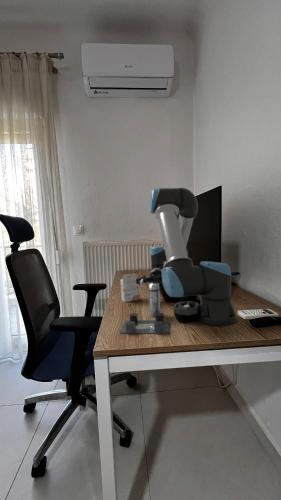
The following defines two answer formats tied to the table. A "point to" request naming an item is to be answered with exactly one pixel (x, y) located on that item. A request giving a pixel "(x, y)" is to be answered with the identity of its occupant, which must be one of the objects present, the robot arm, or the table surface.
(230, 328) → the table surface
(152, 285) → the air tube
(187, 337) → the table surface
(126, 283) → the ink cartridge box
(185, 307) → the cpu cooler
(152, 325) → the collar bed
